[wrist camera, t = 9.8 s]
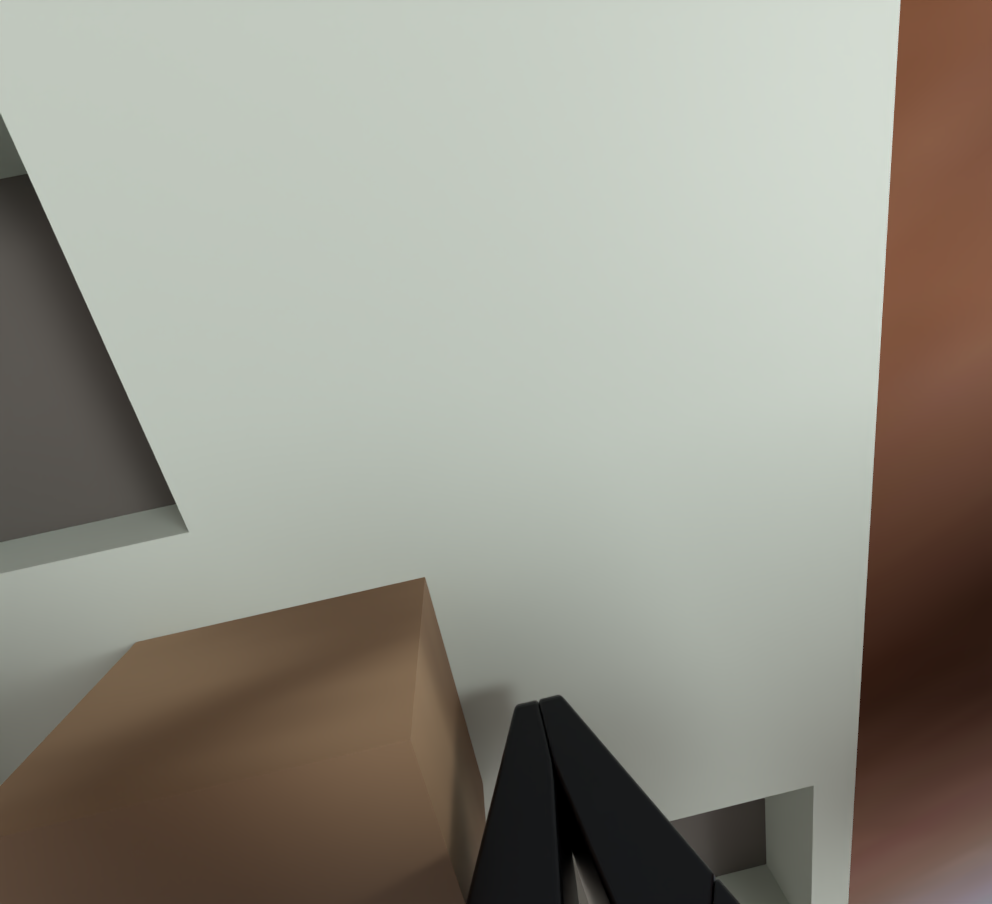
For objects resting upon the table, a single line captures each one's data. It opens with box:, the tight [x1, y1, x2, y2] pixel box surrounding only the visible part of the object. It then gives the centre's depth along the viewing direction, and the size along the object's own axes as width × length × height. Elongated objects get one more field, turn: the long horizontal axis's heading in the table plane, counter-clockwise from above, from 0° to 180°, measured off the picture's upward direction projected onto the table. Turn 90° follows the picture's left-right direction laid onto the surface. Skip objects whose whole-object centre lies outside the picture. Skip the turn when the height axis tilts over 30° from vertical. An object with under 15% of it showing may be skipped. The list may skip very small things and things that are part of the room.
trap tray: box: [0, 0, 900, 904], centre depth 9 cm, size 18×26×4 cm
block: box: [0, 577, 486, 904], centre depth 7 cm, size 5×5×3 cm
